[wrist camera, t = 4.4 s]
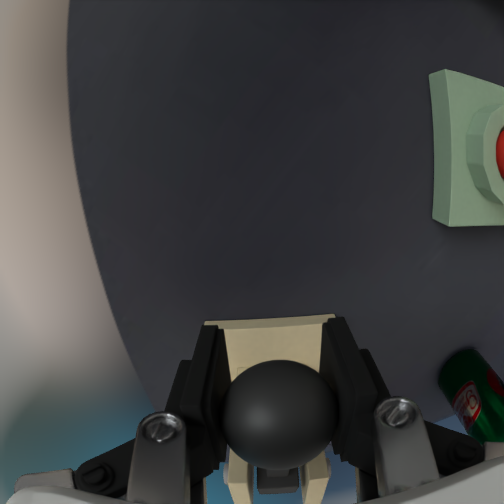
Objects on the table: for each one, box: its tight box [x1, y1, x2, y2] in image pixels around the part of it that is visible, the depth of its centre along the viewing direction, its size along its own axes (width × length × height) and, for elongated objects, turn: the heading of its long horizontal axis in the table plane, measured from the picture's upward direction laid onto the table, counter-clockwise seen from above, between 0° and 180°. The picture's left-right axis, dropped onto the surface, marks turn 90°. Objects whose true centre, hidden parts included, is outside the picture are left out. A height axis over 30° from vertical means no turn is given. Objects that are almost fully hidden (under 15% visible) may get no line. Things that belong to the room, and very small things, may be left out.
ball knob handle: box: [219, 360, 338, 494], centre depth 11 cm, size 13×3×3 cm, turn 4°
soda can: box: [438, 349, 504, 445], centre depth 17 cm, size 5×5×12 cm
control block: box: [429, 69, 504, 227], centre depth 14 cm, size 10×9×4 cm
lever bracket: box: [204, 314, 335, 504], centre depth 17 cm, size 11×9×11 cm
